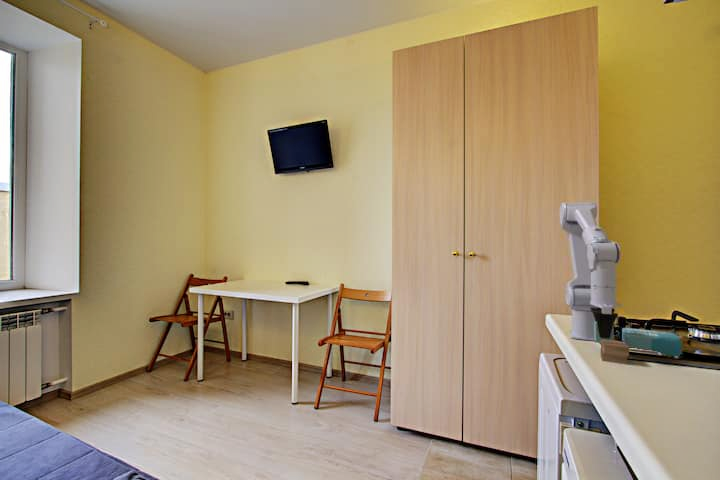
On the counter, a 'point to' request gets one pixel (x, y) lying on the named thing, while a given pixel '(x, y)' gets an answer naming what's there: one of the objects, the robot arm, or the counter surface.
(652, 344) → the data package
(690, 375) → the counter surface
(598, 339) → the teal block
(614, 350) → the walnut slab upper
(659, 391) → the counter surface
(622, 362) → the walnut slab lower
